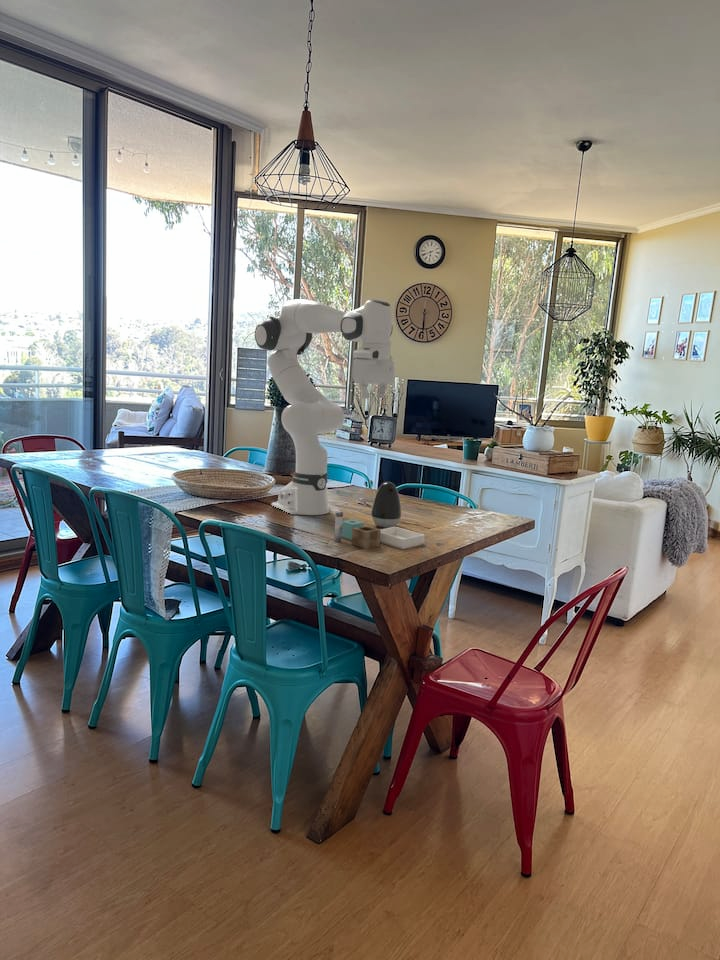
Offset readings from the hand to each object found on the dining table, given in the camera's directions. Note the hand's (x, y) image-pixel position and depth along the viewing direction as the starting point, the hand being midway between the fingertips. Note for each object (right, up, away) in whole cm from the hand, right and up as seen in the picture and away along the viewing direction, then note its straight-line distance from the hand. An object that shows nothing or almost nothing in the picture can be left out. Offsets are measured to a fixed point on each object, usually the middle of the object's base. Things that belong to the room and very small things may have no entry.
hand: (373, 398), depth 219 cm
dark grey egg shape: (+4, -42, +17) cm, 45 cm away
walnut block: (-2, -45, -8) cm, 46 cm away
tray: (+8, -45, -3) cm, 46 cm away
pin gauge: (-11, -44, -6) cm, 46 cm away
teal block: (-7, -44, 0) cm, 44 cm away
